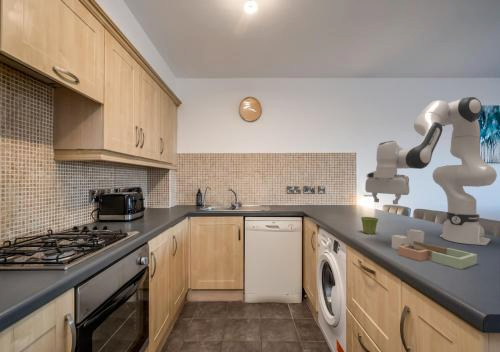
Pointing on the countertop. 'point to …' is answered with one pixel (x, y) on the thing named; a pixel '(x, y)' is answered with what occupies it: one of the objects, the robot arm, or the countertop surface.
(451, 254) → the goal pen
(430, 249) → the brown piece
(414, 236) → the beige cube
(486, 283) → the countertop surface
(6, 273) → the countertop surface
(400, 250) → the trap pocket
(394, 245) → the block
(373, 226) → the plant pot
